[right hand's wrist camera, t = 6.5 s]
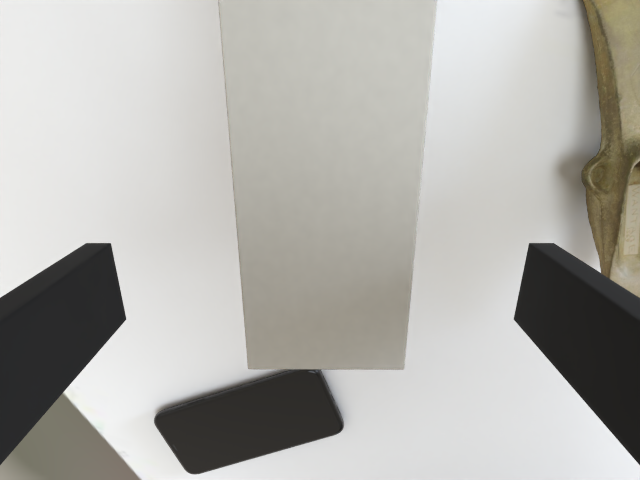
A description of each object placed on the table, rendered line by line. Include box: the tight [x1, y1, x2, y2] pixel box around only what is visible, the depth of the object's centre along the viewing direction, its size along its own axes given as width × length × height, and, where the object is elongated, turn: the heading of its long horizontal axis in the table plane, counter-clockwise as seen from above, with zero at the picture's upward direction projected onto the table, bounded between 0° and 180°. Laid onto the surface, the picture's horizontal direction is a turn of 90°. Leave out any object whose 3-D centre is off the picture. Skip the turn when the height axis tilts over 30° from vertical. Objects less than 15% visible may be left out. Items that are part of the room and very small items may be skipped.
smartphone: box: [154, 369, 344, 474], centre depth 35 cm, size 8×1×16 cm
